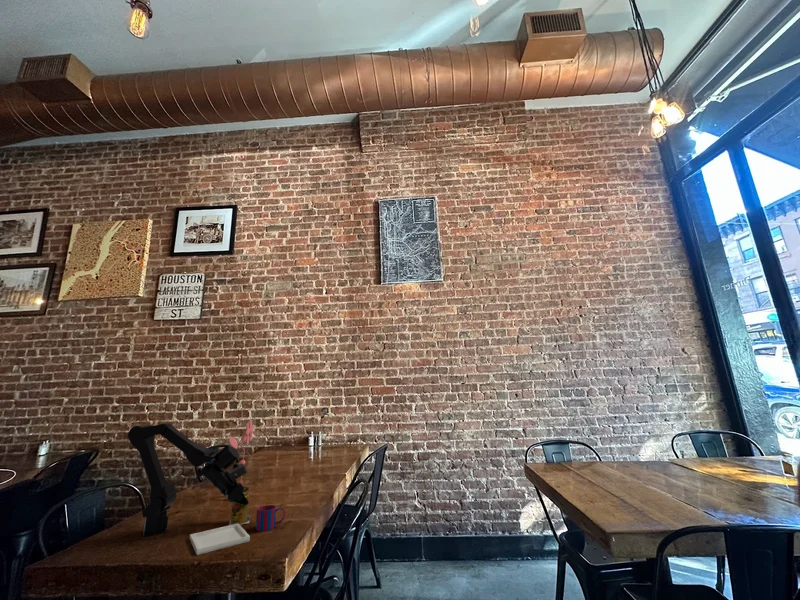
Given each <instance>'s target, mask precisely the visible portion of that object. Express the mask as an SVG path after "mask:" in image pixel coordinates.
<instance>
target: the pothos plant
mask: <svg viewBox="0 0 800 600" xmlns="http://www.w3.org/2000/svg"><path fill="white" fill-rule="evenodd" d="M254 428H255V424H254V423H253V419H250V420H249V422H247V423H246V425H245V433H244V434H243V436H242V437H241V439H240V440H239V442H238V441H237V439H236V438H235V437H234V436H232V435H229V438H228V443H229V445H230V446H231V447H233V448H234V449H236V450H237V449H238V446H239V447H240V448H241V449H242V450H243V456H242V457H243V458H242V460H239V464H243V465H244V466H246V460H245V453H246V449H245V448H244V447H243V446H242V445H243V444H244V442H245V446H246V447H247V446H249V444H250V442H252V441H253V435H254V436H255V438H256V439H258V438H259V437H258V436H257V435H256V433H255V432H254ZM239 464H238V465H239ZM240 478H241V479H240V480H239V483H241V484H242V485H243V486H244V487H245V485H244V484H243V475H242V476H240ZM258 491H260V492H261V493H263V491H261V490H260V489H258ZM256 498H257V496H255V497H254V499H256ZM222 503H223V504H224V503H225V502H224V501H222Z"/></svg>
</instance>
